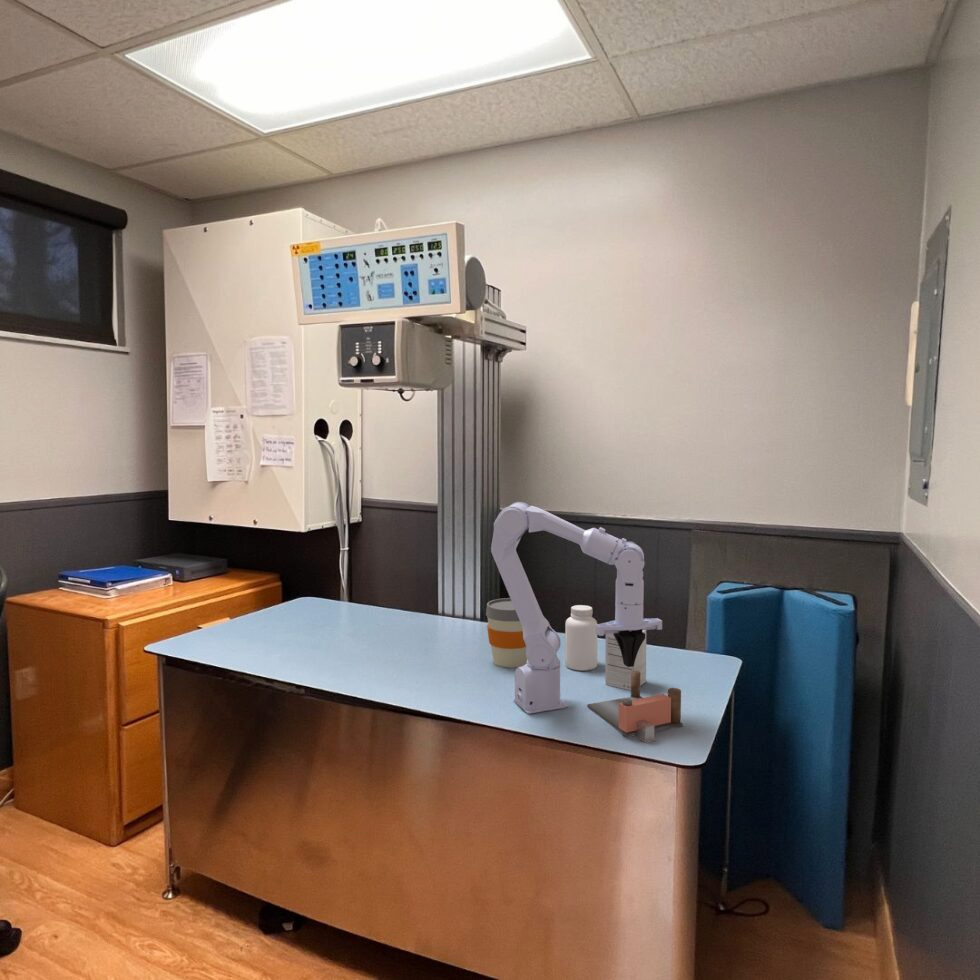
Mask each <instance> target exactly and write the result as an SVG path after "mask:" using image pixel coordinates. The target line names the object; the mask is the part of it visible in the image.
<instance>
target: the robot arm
mask: <svg viewBox="0 0 980 980" xmlns="http://www.w3.org/2000/svg"><path fill="white" fill-rule="evenodd" d="M527 530H528V533H535V532H540V531H545V532H548V533H550V534H552V535H555V536H557V537H560V538H563V539H566V540H567V541H570V542H572V543H575V544H577V545H579V546H580V549H581V551H582V553H583V554H585V555H587V556H590V557H591V558H594V559H596V560H599V561H601V562H603V563H605V564H607V565H610V566H615V569H616V578H615V603H614V604H615V606H614V607H615V609H614V610H615V611H614V613H615V615H614V616H615V617H614V620H610V621H607V622H606V621H605V622H602V623H597V624H596V634H597V636H599V637H602V636H605V635H606V634H613V635H614V637H615V638H616V640H617V643H618V645H619V647H620V650H621V654H622V658H623V663H624V665H626V666H627V667H633V666H634V663H635V659H636V656H637V653H638V650H639V648H640V646H641V644H642V643H643V641H644V640H645V633H643V632H642V630H646V631H648V630H658V631H659V630H663V620H662V619H660V618H658V617H656V618H653V617H652V618H644V599H645V597H644V595H645V594H644V588H645V587H644V584H645V582H644V579H643V577H644V571H643V569H644V568H645V564H646V562H645V555H644V550H643V549H642V548H641V547H640V545H638V544H636V543H635V542H633V541H627V539H626V538H624V537H622V538H618V537H615V536H614V535H611V534H609V533H607V532H606V529H605V528H603V527H601V526H600V527H599V528H596V527H592V528H589V529H584V528H582V527H580V526H578V525H575V524H574V523H571V522H570V521H567V520H566V519H563V518H561V517H559V516H557V515H555V514H552V513H550V512H549V511H547V510H544V509H542V508H540V507H537V506H534V505H529V504H527V503H526V502H522V501H516V502H513V503H511V504H510V505H509V506H507V507H504V508H503V509H502V510H501V511H500V512H499V513H498V514H497V517H496V518H495V521H494V522H493V534H492V540H491V545H490V546H491V547H490V552H491V554H492V557H493V560H494V562H495V564H496V567H497V569H498V572H499V574H500V576H501V579H502V581H503V584H504V586H505V589H506V591H507V593H508V596H509V598H511V601H512V603H513V605H514V608H515V610H516V613H517V615H518V617H519V620H520V622H521V625H522V628H523V639H524V642H525V644H526V658H527V664H525V665H523V666H519V667H516V669H515V670H514V671H515V672H514V698H513V702H514V703H516V705H518V706H519V707H520V708H521V709H522V710H523V711H524V712H525V713H527V714H528V715H530V714H535V713H542V712H547V711H554V710H559V709H565V708H568V706H569V705H568V703H566V702H565V701H564V700H562V699H561V660H560V659H559V657H558V655H557V653H558V651H559V650H560V648H561V638H560V636H559V634H558V633H557V632H556V631H555V629H553V628H552V626H551V625H550V622H549V621H548V619H546V617H545V616H544V615H543V612H542V610H541V607H540V605H539V603H538V600H537V598H536V596H535V592H534V591H533V588H532V585H531V583H530V581H529V578H528V576H527V574H526V571H525V569H524V567H523V564H522V562H521V560H520V557H519V554H518V552H517V547H518V545H519V543H520V541H521V538H522V536H523V535H524V533H526V531H527Z"/></svg>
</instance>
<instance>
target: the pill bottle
mask: <svg viewBox="0 0 980 980" xmlns="http://www.w3.org/2000/svg"><path fill="white" fill-rule="evenodd" d="M593 614H594V613H593V607H592V606H590V605H585V604H584V605H583V604H577V605H573V606H571V607H570V617H568V618H567V619H566V620H565V623H564V624H565V625H564V626H565V636H564V637H565V647H564V648H565V649H564V652H565V654H564V655H565V665H566V668H568V669H570V670H575V671H584V672H585V671H591V670H595V669H596V668H597V665H598V635H597V634H596V624H598V621H597V620H596V619H595V618H594V617H593Z"/></svg>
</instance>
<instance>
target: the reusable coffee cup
mask: <svg viewBox="0 0 980 980" xmlns="http://www.w3.org/2000/svg"><path fill="white" fill-rule="evenodd" d="M485 616H486V617H487V623H488V624H487V626H486V627H487V636H488V643H489V644H490V646H491V647H490V648H491V653H492V661H493V663H494V664H495V665H496V666H499V667H501V668H502V667H503V668H518V667H521V666H524V665H525V664H527V658H526V644H525V642H524V639H523V628H522V625H521V622H520V620H519V617H518V615H517V613H516V610H515V608H514V605H513V603H512V601H511V598H510V597H507V598H505V597H504V598H497V599H493V600H489V601H488V602H487V603H486V610H485Z"/></svg>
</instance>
